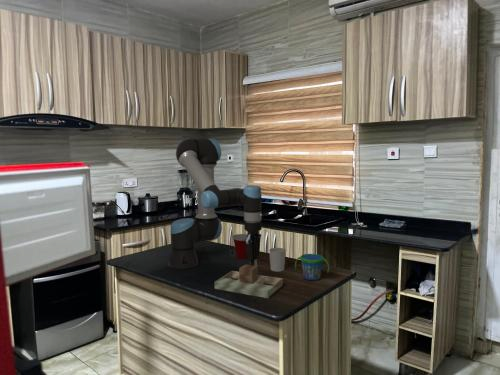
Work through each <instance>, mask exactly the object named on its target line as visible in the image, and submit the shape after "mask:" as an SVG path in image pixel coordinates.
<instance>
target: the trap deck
mask: <svg viewBox="0 0 500 375" xmlns="http://www.w3.org/2000/svg"><path fill="white" fill-rule="evenodd" d="M283 280H284V279H283V278H281V277H275V276H268V275H262V274H258V280H257V281H255V282H254V283H253V284H249V283H242V282H239V271H236V270H231V271H229V272H228V273H226V274H225V275H223V276H222V277H219V278H218V279H217V280H214V289H215V290H220V291H226V292H231V293H237V294H243V295H248V296H253V297H260V298H264V299H270V297H271V296H273V295H274V294H275V293H276V292H277V291H278V290H279V289H280V288H281V287H282V286H283V285H284V284H283Z"/></svg>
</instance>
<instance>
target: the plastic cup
mask: <svg viewBox="0 0 500 375" xmlns="http://www.w3.org/2000/svg"><path fill="white" fill-rule="evenodd" d="M232 239H233V243H234V244H233V245H234V249H235V254H236V259H239V260H245V259H247V252H246V244H245V242H244V240H245V239H246V240H247V233H238V234H234V235H232Z"/></svg>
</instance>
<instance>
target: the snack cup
mask: <svg viewBox="0 0 500 375" xmlns="http://www.w3.org/2000/svg"><path fill="white" fill-rule="evenodd" d="M298 260H300V262H301V266H302V267H301V268H302V269H301V270H302V276H303V278H304V279H305V280H307V281H318V280H320V279H321V274H322V269H323V268H322V267H323V264H324V262H325V263H326V265H327V274H329V271H330V264H329V261H328V259H326V258H324V256H322V255H321V254H318V253H304V254H301V255H300V256H299V257H297V258H296V260H295V263H294V269H295V271H297V270H298V266H297V261H298Z"/></svg>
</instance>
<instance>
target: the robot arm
mask: <svg viewBox="0 0 500 375" xmlns="http://www.w3.org/2000/svg"><path fill="white" fill-rule="evenodd" d="M221 156H222V148H221V146H220V144H219V142H218V141H217V140H216V139H214V138H186V139H183V140H182V141H180V143H179V144H178V145H177V147H176V150H175V157H176V161H177V162H178V164H179V165H180V166H182V167H183V168H184V169H185V171H186V172H187V173H188V175H189V176H190V178H191V179H192V181H193V182H194V184H195V185H196V187H197V214H196V215H195V217H194V218H195V220H194V218H192V217H191V218H190V217H186V218H179V219H177V220H174V221H173V222H172V223H171V225H170V241H171V243H170V244H171V251H170V255H169V259H168V261H167V262H168V267H169V268H171V269H174V270H185V269H192V268H196V267H197V266H198V265H199V258H198V256H197V253H196V249H195V244H198V243H203V242H210V241H211V242H212V241H215V240H218V239H219V237H220V236H221V234H222V231H223V226H222V225H223V224H222V221H221V219H220V218H219V217H218V215H217V214H216V213H215V209H217V208H224V207H226V208H227V207H235V206H241V207H243V213H244V214H243V221H244V223H243V224H244V225H243V226H244V231H246V232H247V233H246V234H247V240H246V239H245V240H244V242H245V244H246V252H247V258H246V259H247V260H248V261H249V265H253V266H258V260H259V259H260V250H261V249H260V248H261V240H262V234H261V233H260V231H262V229H263V228H262V223H263V222H262V216H263V214H262V196H263V195H262V188H261V186H260V185H250V184H249V185H245V186H244V187H243V188H240V187H232V188H230V189H220V188H219V187H218V185H217V184H216V183H215V168H216V166H218V161H219V160H221Z"/></svg>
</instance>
